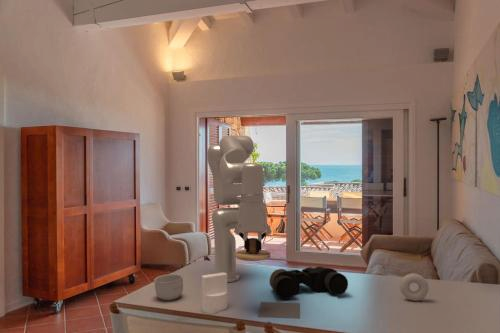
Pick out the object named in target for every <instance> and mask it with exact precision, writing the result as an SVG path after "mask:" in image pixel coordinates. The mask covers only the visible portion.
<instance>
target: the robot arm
mask: <svg viewBox="0 0 500 333" xmlns="http://www.w3.org/2000/svg"><path fill="white" fill-rule="evenodd" d="M254 147H255V146H254V140H253V139H252V138H251V136H248V135H234V134H233V135H230V134H229V135H225V136H223V137H222V138H221V139H220V140H219V142H218V144H214V145H211V146H210V147H208V148H207V151H206V156H207V163H208V166H209V169H210V172H211V175H212V188H213V199H214V203H215V204H216V205H219V206H235V205H237V206H238V207H222V208H217V209H215V210H214V211H213V212H212V213H211V214H212V215H211V222H212V227H213V236H214V238H213V239H214V274H216V273H223V272H224V273H226V274H227V283H234V282H237V281H238V280H240V277H241V276H240V274H239V273H237V258H236V252H237V251H236V249H237V247H236V246H237V245H236V244H237V243H236V242H237V241H236V237H235V236H234V234H236V235H238V236H239V237H240V238H241V239H242V240H243V248H244V249H243V250H246V252H248V239H249V236H248V235H249V233H256V234H257V239H258V241H257V252H258V253H259V251H260V250H262V240H263V239H264V238H265V237H266V236H268V235H270V234H272V232H273V230H272V229H271V227H270V225H269V223H268V212H267V205H266V202H264V168H263V165H262V164H260V163H255V162H246V161H247V160H248V159H249V158H250V157H251V156H252V154H253V152H254V149H255V148H254ZM231 230H233V233H234V234H233V233H232V232H231Z"/></svg>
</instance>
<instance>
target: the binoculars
mask: <svg viewBox="0 0 500 333" xmlns="http://www.w3.org/2000/svg"><path fill="white" fill-rule="evenodd" d="M301 284H303V285H304V286H310V287H311V288H312V289H314V290H315V291H316V292H317V293H321V294H323V293H324V294H325V293H332V294H334V295H343V294H344V293H345V292H346V291H347V290H348V287H349V281H348V278H347V277H346V276H345V274H342V273H341V272H338V271H337V270H336V269H334V268H331V267H326V266H323V265H322V266H321V265H320V266H317V267H311V266H309V267H305V268H303V269H301V270H299V269H293V270H286V269H284V268H279V269H275V270H273V272H271V275H270V277H269V286H270V287H271V289H272V291H274V294H275V295H277V296H278V298H281V299H282V300H290V299H291V298H293V297H294V296H296V295H298V294H299V292H300V290H301Z"/></svg>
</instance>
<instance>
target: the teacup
mask: <svg viewBox="0 0 500 333" xmlns="http://www.w3.org/2000/svg"><path fill="white" fill-rule="evenodd" d="M183 278H184V276H183V275H182V274H179V273H175V272H170V273H168V274H162V275H159V276H157V277H156V278H154V279H153V280H154V289H155V290H154V291H155V294H156V296H157V298H159V299H160V300H162V301H173V300H176V299H177V298H179V297H180V296H181V295H182V293H183V291H184V283H183V281H184V280H183Z"/></svg>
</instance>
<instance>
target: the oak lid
mask: <svg viewBox="0 0 500 333" xmlns="http://www.w3.org/2000/svg"><path fill="white" fill-rule="evenodd" d="M257 241H258V237H257V238H256V237H250V238H249V237H248V252H246V249H241V250H238V251H236V260H237V259H238V260H240V261H245V262H246V261H248V262H260V261H265V260H268V259H271V252H270V251H268V250H267V249H261V250H260V251H259V253H258V252H257Z"/></svg>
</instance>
